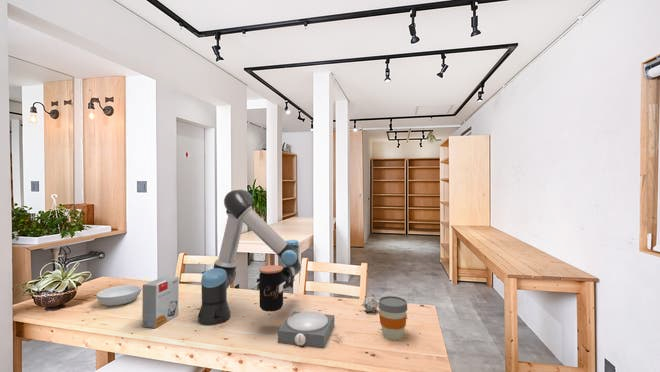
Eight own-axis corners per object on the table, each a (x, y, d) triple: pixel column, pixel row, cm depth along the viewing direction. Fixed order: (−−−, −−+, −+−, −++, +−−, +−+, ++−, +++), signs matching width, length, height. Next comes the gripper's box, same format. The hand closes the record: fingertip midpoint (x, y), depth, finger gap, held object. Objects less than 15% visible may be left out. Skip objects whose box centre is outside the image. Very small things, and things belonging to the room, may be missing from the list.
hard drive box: (155, 329, 143) (154, 286, 142) (141, 327, 144) (141, 284, 144) (179, 315, 158) (178, 276, 158) (166, 313, 160) (166, 275, 159)
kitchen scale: (277, 343, 129) (276, 328, 129) (294, 321, 149) (294, 309, 149) (323, 349, 124) (323, 333, 124) (334, 325, 145) (334, 312, 145)
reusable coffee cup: (393, 325, 145) (393, 294, 144) (413, 337, 134) (413, 302, 134) (372, 333, 138) (372, 299, 138) (392, 345, 127) (392, 309, 127)
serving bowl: (146, 301, 176) (146, 289, 176) (102, 313, 160) (101, 300, 160) (134, 293, 190) (134, 282, 190) (92, 303, 174) (92, 291, 174)
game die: (373, 319, 160) (379, 309, 154) (358, 312, 161) (363, 301, 155) (377, 305, 167) (382, 295, 161) (362, 299, 168) (367, 288, 162)
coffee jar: (262, 313, 134) (261, 272, 134) (257, 305, 144) (257, 266, 144) (285, 309, 139) (285, 269, 138) (279, 301, 148) (279, 264, 148)
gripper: (307, 282, 156) (292, 298, 135) (264, 280, 161) (243, 294, 140) (307, 268, 156) (292, 281, 135) (264, 265, 161) (243, 278, 140)
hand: (267, 288), depth 137 cm, fingers closed on coffee jar, 11 cm apart
